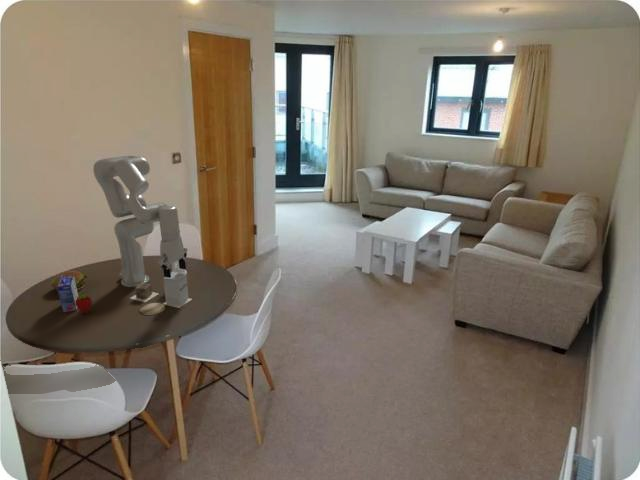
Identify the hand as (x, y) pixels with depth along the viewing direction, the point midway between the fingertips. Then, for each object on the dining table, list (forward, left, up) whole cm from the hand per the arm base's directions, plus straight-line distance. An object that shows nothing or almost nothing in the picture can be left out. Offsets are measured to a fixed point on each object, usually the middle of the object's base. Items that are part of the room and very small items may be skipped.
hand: (175, 272), depth 188 cm
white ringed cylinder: (-11, +14, -15) cm, 23 cm away
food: (-55, -10, -15) cm, 57 cm away
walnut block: (-18, -2, -14) cm, 23 cm away
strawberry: (-29, -24, -15) cm, 40 cm away
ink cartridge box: (-40, -22, -15) cm, 48 cm away
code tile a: (-1, 0, -14) cm, 14 cm away
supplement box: (-1, 0, -14) cm, 14 cm away
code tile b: (-18, -2, -14) cm, 23 cm away
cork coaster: (-6, -10, -14) cm, 18 cm away
